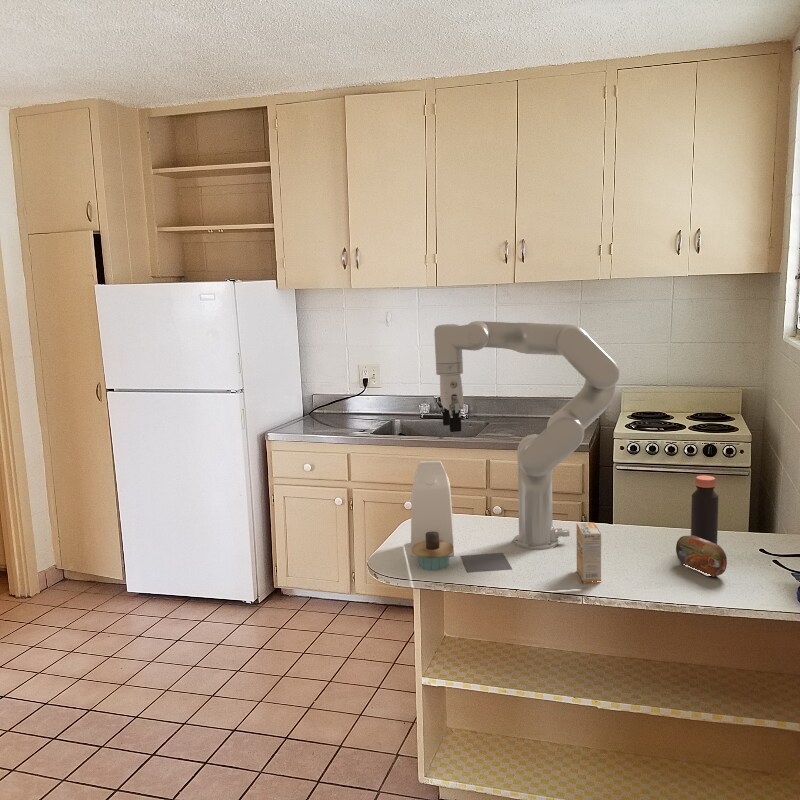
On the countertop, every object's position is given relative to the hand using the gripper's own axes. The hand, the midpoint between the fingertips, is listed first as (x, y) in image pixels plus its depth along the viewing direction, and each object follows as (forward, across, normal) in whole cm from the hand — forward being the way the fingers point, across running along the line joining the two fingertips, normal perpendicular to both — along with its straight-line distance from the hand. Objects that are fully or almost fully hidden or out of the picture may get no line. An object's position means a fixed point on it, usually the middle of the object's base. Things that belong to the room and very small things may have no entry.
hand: (452, 428), depth 216 cm
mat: (+34, -18, -4) cm, 39 cm away
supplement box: (+35, -32, -27) cm, 55 cm away
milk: (+34, -4, +8) cm, 35 cm away
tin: (+35, -35, -56) cm, 75 cm away
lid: (+30, -16, +10) cm, 35 cm away
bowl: (+34, -16, +10) cm, 39 cm away
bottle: (+35, -21, -65) cm, 77 cm away
